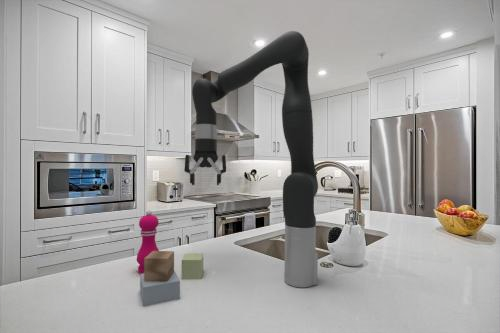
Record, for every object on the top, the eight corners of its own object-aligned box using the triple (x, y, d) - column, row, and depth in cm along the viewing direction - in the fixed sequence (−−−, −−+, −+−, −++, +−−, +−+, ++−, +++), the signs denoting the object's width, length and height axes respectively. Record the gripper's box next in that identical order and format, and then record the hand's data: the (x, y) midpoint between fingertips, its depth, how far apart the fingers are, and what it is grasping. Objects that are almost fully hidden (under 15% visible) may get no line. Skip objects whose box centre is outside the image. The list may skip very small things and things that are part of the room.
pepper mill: (134, 276, 83) (135, 212, 83) (138, 267, 90) (138, 208, 90) (159, 274, 85) (159, 211, 85) (160, 265, 92) (161, 208, 92)
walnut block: (173, 272, 75) (174, 251, 75) (167, 281, 69) (167, 258, 69) (152, 272, 75) (152, 250, 75) (144, 281, 69) (144, 258, 69)
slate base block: (173, 285, 78) (173, 268, 78) (179, 299, 70) (180, 280, 70) (140, 291, 74) (140, 273, 74) (143, 307, 66) (143, 287, 66)
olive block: (203, 271, 88) (203, 253, 88) (201, 279, 82) (201, 259, 82) (184, 271, 88) (184, 253, 88) (181, 279, 82) (181, 260, 82)
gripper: (226, 139, 97) (226, 184, 97) (187, 139, 96) (186, 184, 96) (226, 137, 89) (225, 186, 90) (183, 136, 88) (182, 185, 89)
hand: (205, 184), depth 93 cm, fingers open, 8 cm apart
